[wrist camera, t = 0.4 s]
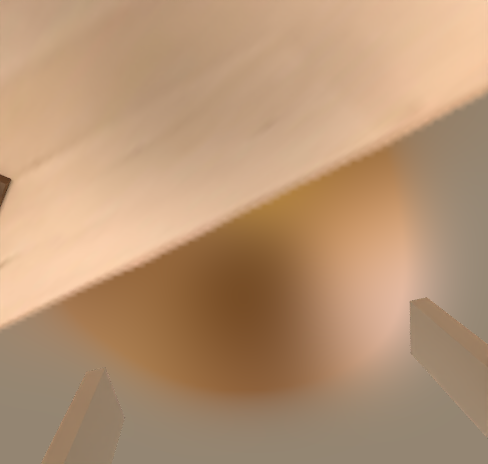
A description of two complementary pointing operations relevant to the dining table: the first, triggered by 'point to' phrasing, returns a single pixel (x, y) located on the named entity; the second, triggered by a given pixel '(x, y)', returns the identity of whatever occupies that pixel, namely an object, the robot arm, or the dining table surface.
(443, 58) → the dining table surface
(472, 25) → the dining table surface
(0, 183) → the jig cradle
